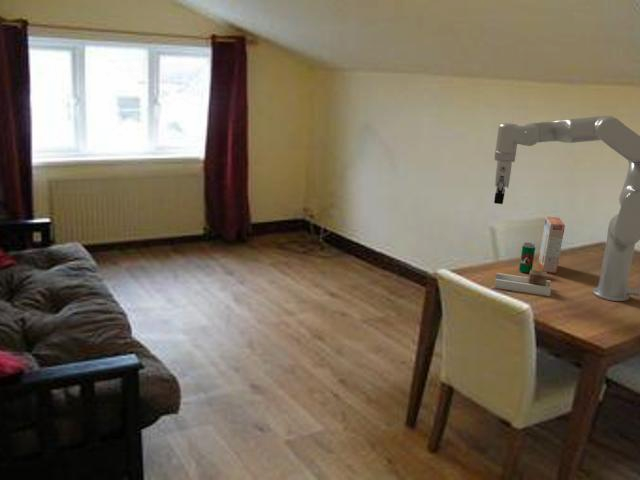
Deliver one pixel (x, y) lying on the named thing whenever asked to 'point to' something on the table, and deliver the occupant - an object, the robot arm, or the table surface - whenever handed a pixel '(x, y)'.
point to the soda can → (527, 257)
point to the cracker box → (551, 244)
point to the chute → (521, 284)
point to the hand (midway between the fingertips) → (498, 201)
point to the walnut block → (537, 277)
